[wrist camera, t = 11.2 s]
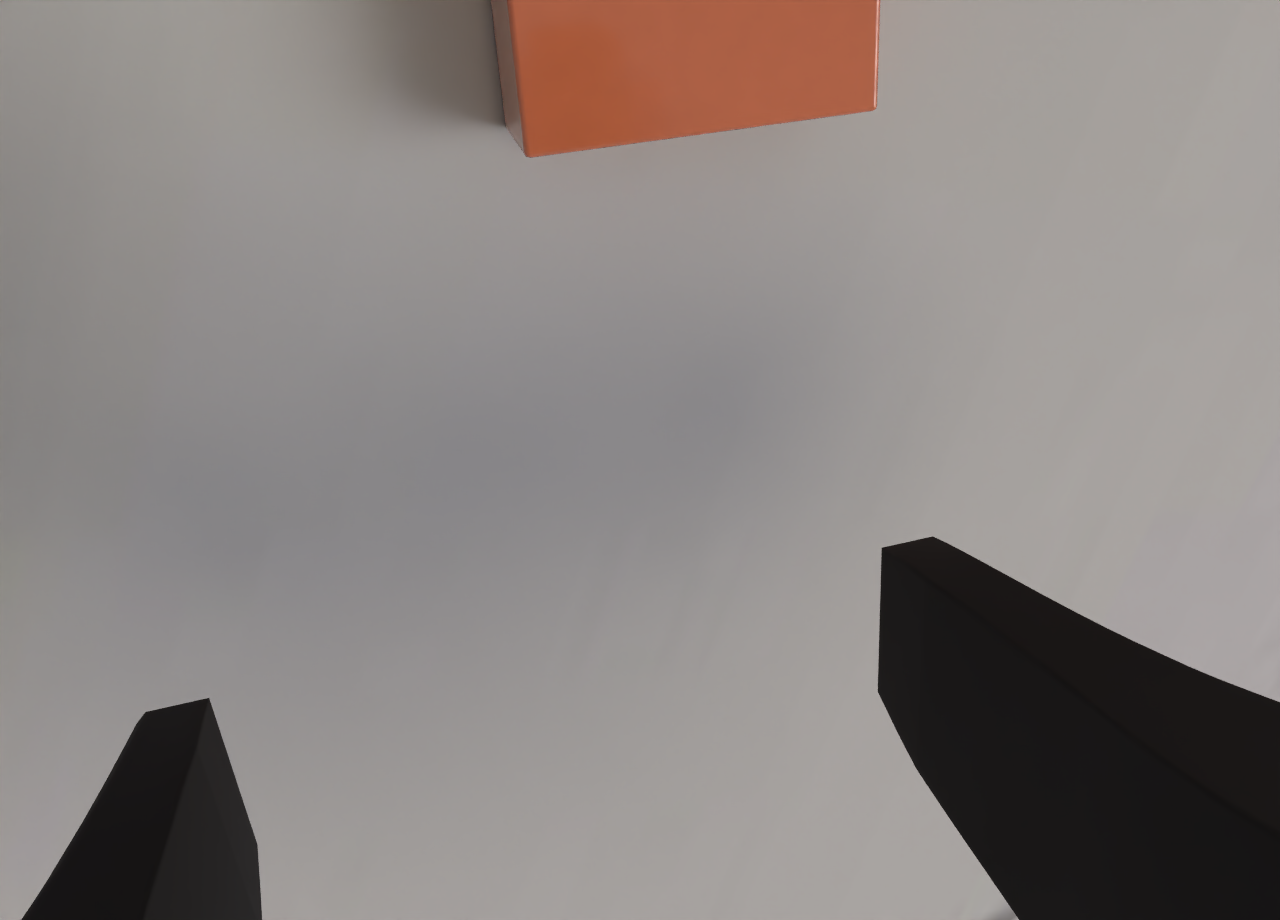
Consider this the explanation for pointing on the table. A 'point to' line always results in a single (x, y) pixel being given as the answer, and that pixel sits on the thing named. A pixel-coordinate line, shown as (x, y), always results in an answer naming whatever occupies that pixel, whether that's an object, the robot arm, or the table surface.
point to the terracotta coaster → (678, 67)
